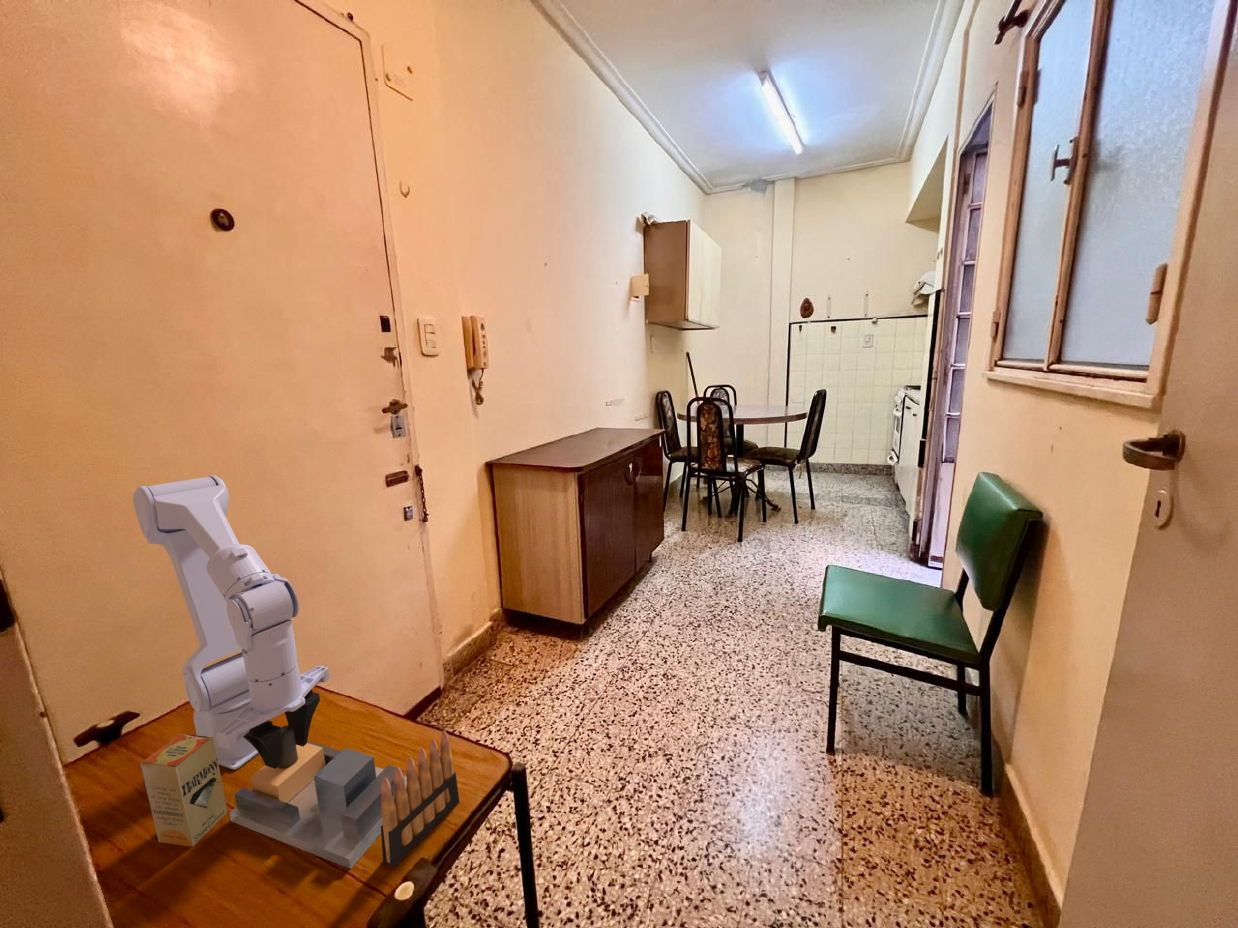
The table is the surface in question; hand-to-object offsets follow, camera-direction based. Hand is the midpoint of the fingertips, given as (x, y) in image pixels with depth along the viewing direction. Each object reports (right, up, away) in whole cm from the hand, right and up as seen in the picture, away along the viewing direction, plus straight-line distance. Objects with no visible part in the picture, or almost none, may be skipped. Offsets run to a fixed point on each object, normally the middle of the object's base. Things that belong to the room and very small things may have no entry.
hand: (286, 753), depth 68 cm
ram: (0, -5, +1) cm, 5 cm away
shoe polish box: (-10, -8, -4) cm, 13 cm away
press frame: (+6, -7, -1) cm, 9 cm away
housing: (+10, -5, -2) cm, 12 cm away
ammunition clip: (+21, -8, -4) cm, 23 cm away
